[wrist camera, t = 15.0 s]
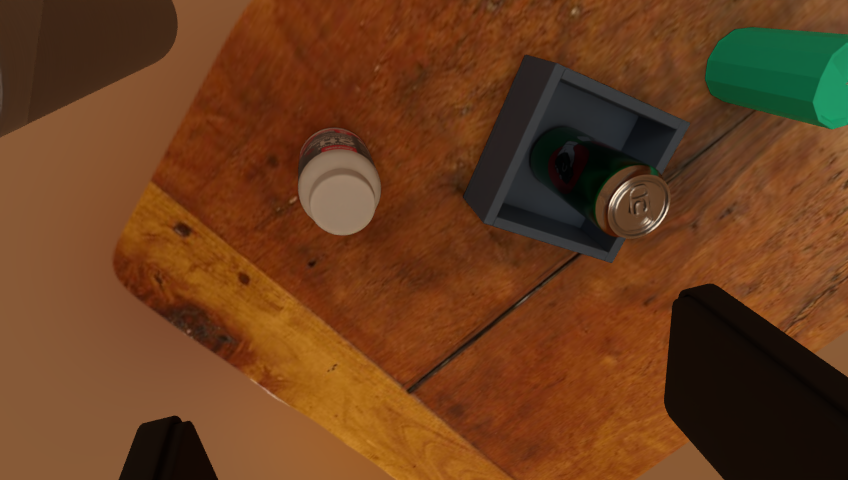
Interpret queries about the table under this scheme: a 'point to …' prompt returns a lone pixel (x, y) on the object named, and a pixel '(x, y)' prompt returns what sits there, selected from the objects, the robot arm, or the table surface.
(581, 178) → the soda can
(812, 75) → the candle
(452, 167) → the table surface
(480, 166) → the bin
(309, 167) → the pill bottle
